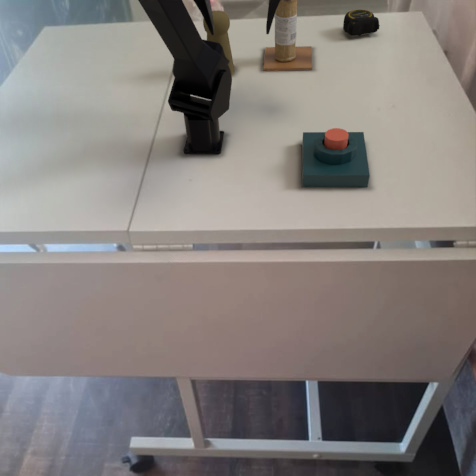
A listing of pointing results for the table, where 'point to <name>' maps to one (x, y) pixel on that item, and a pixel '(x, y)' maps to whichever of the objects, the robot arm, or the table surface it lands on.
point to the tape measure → (360, 23)
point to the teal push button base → (334, 162)
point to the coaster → (298, 63)
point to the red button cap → (336, 139)
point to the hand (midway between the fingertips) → (240, 33)
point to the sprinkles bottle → (285, 30)
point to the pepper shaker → (221, 34)
